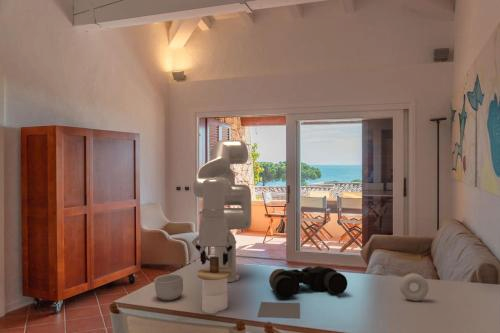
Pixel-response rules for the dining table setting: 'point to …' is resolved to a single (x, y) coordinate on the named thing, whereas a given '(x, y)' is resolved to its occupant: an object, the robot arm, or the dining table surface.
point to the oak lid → (214, 271)
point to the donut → (414, 294)
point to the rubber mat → (279, 310)
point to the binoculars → (307, 280)
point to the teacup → (169, 286)
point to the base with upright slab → (214, 295)
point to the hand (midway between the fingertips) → (214, 263)
